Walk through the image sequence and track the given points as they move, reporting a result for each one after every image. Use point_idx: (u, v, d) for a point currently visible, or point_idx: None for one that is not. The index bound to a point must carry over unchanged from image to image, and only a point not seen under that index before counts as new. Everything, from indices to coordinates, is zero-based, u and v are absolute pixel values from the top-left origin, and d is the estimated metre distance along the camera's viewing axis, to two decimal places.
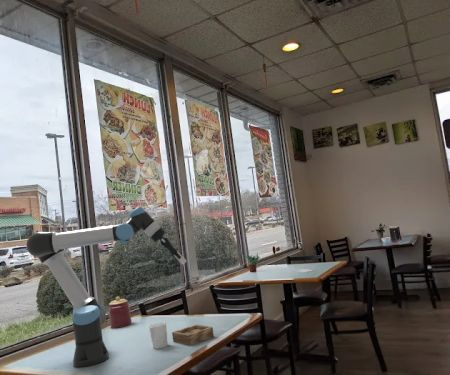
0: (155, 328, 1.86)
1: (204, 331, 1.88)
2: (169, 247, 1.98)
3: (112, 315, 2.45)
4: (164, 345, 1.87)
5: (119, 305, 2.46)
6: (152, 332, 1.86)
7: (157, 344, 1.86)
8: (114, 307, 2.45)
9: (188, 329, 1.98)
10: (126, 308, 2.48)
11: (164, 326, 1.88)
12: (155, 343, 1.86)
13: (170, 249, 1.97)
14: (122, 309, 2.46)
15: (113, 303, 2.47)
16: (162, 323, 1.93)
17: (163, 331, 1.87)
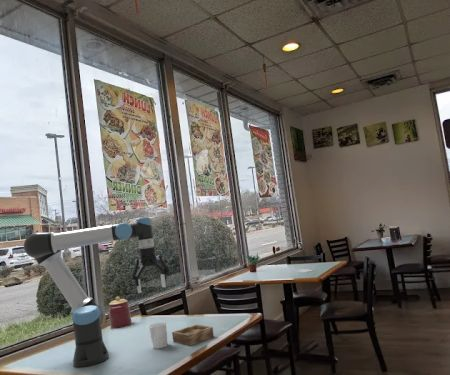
0: (155, 328, 1.86)
1: (204, 331, 1.88)
2: (133, 271, 2.00)
3: (112, 315, 2.45)
4: (164, 345, 1.87)
5: (119, 305, 2.46)
6: (152, 332, 1.86)
7: (157, 344, 1.86)
8: (114, 307, 2.45)
9: (188, 329, 1.98)
10: (126, 308, 2.48)
11: (164, 326, 1.88)
12: (155, 343, 1.86)
13: (132, 273, 1.99)
14: (122, 309, 2.46)
15: (113, 303, 2.47)
16: (162, 323, 1.93)
17: (163, 331, 1.87)
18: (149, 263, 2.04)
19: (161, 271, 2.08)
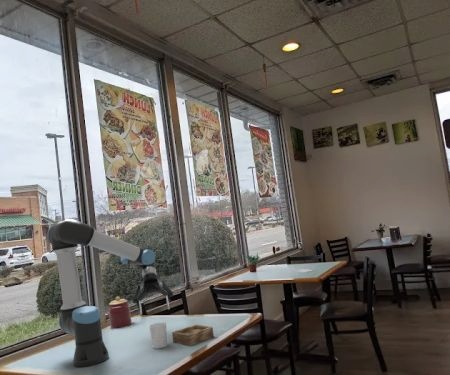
0: (155, 328, 1.86)
1: (204, 331, 1.88)
2: None
3: (112, 315, 2.45)
4: (164, 345, 1.87)
5: (119, 305, 2.46)
6: (152, 332, 1.86)
7: (157, 344, 1.86)
8: (114, 307, 2.45)
9: (188, 329, 1.98)
10: (126, 308, 2.48)
11: (164, 326, 1.88)
12: (155, 343, 1.86)
13: None
14: (122, 309, 2.46)
15: (113, 303, 2.47)
16: (162, 323, 1.93)
17: (163, 331, 1.87)
18: (151, 287, 2.10)
19: (165, 294, 2.08)
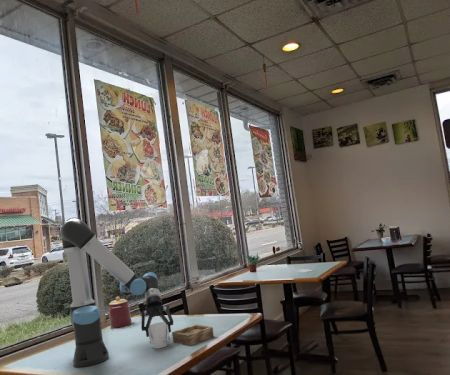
0: (155, 328, 1.86)
1: (204, 331, 1.88)
2: None
3: (112, 315, 2.45)
4: (164, 345, 1.87)
5: (119, 305, 2.46)
6: (152, 332, 1.86)
7: (157, 344, 1.86)
8: (114, 307, 2.45)
9: (188, 329, 1.98)
10: (126, 308, 2.48)
11: (164, 326, 1.88)
12: (155, 343, 1.86)
13: None
14: (122, 309, 2.46)
15: (113, 303, 2.47)
16: (162, 323, 1.93)
17: (163, 331, 1.87)
18: (155, 311, 1.96)
19: (165, 321, 1.93)
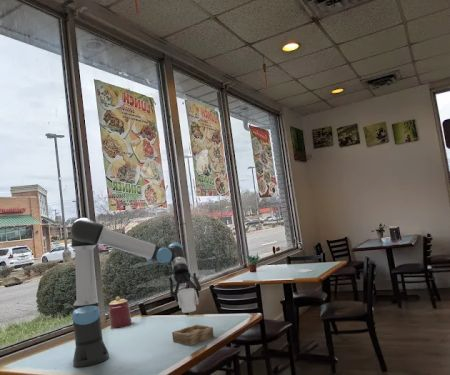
0: (184, 293, 1.91)
1: (204, 331, 1.88)
2: (170, 288, 1.97)
3: (112, 315, 2.45)
4: (193, 309, 1.91)
5: (119, 305, 2.46)
6: (181, 297, 1.91)
7: (186, 308, 1.90)
8: (114, 307, 2.45)
9: (188, 329, 1.98)
10: (126, 308, 2.48)
11: (193, 291, 1.93)
12: (184, 307, 1.91)
13: (170, 291, 1.96)
14: (122, 309, 2.46)
15: (113, 303, 2.47)
16: (190, 289, 1.98)
17: (192, 296, 1.92)
18: (182, 278, 2.01)
19: (193, 287, 1.97)
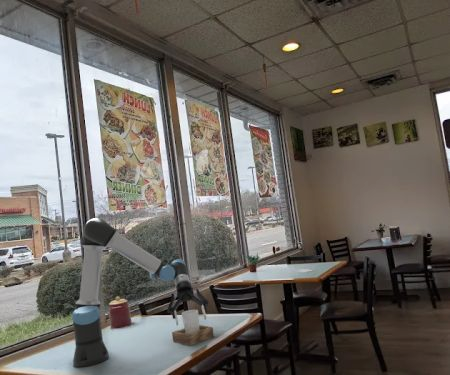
0: (188, 315, 1.90)
1: (204, 331, 1.88)
2: None
3: (112, 315, 2.45)
4: None
5: (119, 305, 2.46)
6: (185, 319, 1.90)
7: (190, 330, 1.89)
8: (114, 307, 2.45)
9: None
10: (126, 308, 2.48)
11: (196, 313, 1.92)
12: (188, 329, 1.90)
13: None
14: (122, 309, 2.46)
15: (113, 303, 2.47)
16: (193, 310, 1.97)
17: (196, 318, 1.91)
18: (185, 296, 2.00)
19: (200, 303, 1.98)
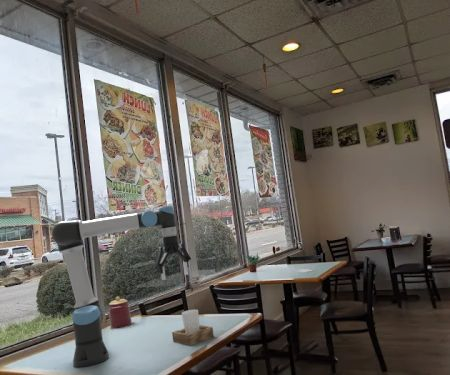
0: (188, 315, 1.90)
1: (204, 331, 1.88)
2: (157, 258, 2.03)
3: (112, 315, 2.45)
4: None
5: (119, 305, 2.46)
6: (185, 319, 1.90)
7: (190, 330, 1.89)
8: (114, 307, 2.45)
9: None
10: (126, 308, 2.48)
11: (196, 313, 1.92)
12: (188, 329, 1.90)
13: (156, 261, 2.03)
14: (122, 309, 2.46)
15: (113, 303, 2.47)
16: (194, 310, 1.97)
17: (196, 318, 1.91)
18: (172, 251, 2.08)
19: (184, 259, 2.12)
